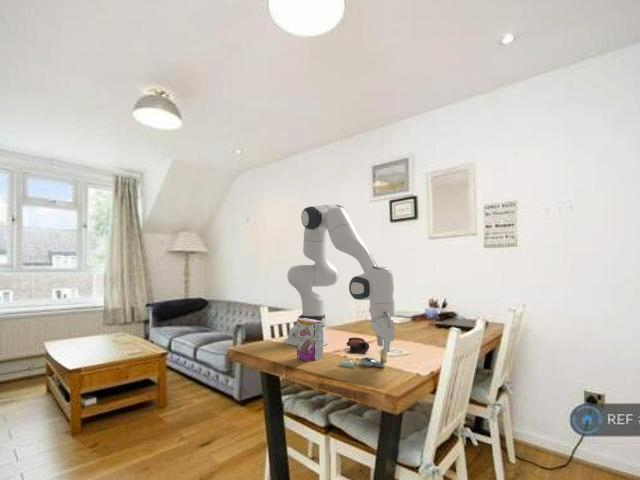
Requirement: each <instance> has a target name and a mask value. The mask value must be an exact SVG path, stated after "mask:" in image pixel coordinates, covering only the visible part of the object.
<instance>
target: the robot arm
mask: <svg viewBox="0 0 640 480" xmlns="http://www.w3.org/2000/svg"><path fill="white" fill-rule="evenodd" d="M300 218H301V219H300V220H301V223H302V225H303V227H304V231H303V245H302V246H303V247H302V253H303V255H304V256H305V257H306V259H309V260H311V261H313V262H314V264H299V265H293V266H291V267H290V268H289V269H288V271H287V281H288V283H289V285H291V286H292V287H293V288H294V289H295V290H296V291H297V292H298V294H299V296H300V300H301V310H302V311H301V313H302V314H300V315H298V316H297V319H302V318H308V319H313V320H318V321H323V346H325V345H327V344H329V342H328V339H327V334H326V327H325V326H326V314H325V299H324V298H323V296H322V295H320V294H319V293H316V292H315V291H313V288H315V287H317V288H319V287H322V288H323V287H330V286H334V285H335V284H336V283H337V282H338V279H339V271H338V269H337V268H336V266H334V265H332V263H331V262H330V261H329V259H328V256H327V233H328V236H329V239H330V241H331V243H332V245H333V247H335V249H336V250H337V251H339V252H340V253H344V254H345V255H346V254H347V255H348V256H351V257H353V258H354V259H355V260H356V261H358V263H359V265H360V267H361V269H362V271H363V273H362V274H359V275H355V276H353V277H352V278H351V280H350V281H349V284H348V289H349V293H350V296H351V297H352V298H353V299H354V300H357V301H365V300H366V301H369V307H368V309H369V314H370V317H371V319H370V320H371V328H372V331H373V333H375V334H376V340H377V341H376V343H377V345H378V347H383V349H384V352H385V353H386V354H387V353H389V352H390V347H391V342H394V341H395V339H396V334H395V323H394V319H393V318H392V317H393V316H395V315H396V313H395V300H394V291H395V290H394V289H395V288H394V287H395V286H394V277H393V273H392V271H391V269H390V268H388V267H385V266H379V265H378V264H377V262H376V261H375V258H374V257H373V255H372V253H371V251H370V249H369V248H368V247H367V245H366V244H365V243H364V241H363V240H362V238H360V236H359V234H358V233H357V231H356V229H355V226H354V224H353V222H352V220H351V218H350V216H349V215H348V212H347V209H346V208H345V207H344V206H343V205H339V204H335V205H334V204H322V205H315V206H313V205H312V206H307V207H305V208H304V209H303V210H302V213H301V215H300ZM283 344H287V345H291V346H295V347H297V323H296V324H295V325H294V326H293V327H291V328H290V329H289V331H288V336H287V338H286V339H284V340H283Z"/></svg>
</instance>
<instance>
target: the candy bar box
mask: <svg viewBox="0 0 640 480" xmlns="http://www.w3.org/2000/svg"><path fill="white" fill-rule="evenodd" d="M296 324H297V346H296V352H297V353H296V358H297V360H301V361H304V362H307V363H308V362H310V361H319V360H322V359H324V345H323V321H318V320H313V319H308V318H302V319H300V318H299V319H298V318H297V319H296Z"/></svg>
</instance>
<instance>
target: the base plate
mask: <svg viewBox="0 0 640 480" xmlns="http://www.w3.org/2000/svg"><path fill="white" fill-rule="evenodd" d="M339 366H340V367H346V368H351V369H355V368H357V366H358V363H357V362H356V361H355V362H354V361H352V360H340V361H339Z"/></svg>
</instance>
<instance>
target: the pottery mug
mask: <svg viewBox="0 0 640 480" xmlns="http://www.w3.org/2000/svg"><path fill="white" fill-rule="evenodd" d="M346 347H349V350H347V351H346V352H347V353H349V354H366V353H367V352H368V351H369V349H370V343H369V342H367V341H366V340H365V339H364V338H361V337H350V338H348V341H347V342H346Z"/></svg>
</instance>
